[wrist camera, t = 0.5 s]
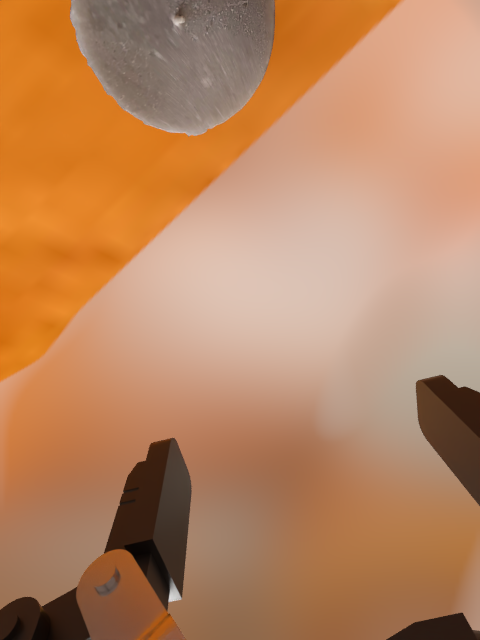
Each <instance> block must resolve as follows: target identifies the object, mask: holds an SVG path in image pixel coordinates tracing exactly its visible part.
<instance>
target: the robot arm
mask: <svg viewBox="0 0 480 640" xmlns="http://www.w3.org/2000/svg"><path fill="white" fill-rule="evenodd" d="M416 393H417V394H416V395H417V410H418V421H419V425H420V428H421V430H422V433H423V435H424V436H425V438H426V439H427V441H428V442H429V443H430V444H431V446H432V447H433V448H434V449H435V451H436V452H437V453H438V454H439V456H440V457H441V458H442V459H443V461H444V462H445V463H446V464H447V466H448V467H449V468H450V469H451V471H452V472H453V473H454V474H455V476H456V477H457V478H458V479H459V481H460V482H461V483H462V484H463V486H464V487H465V488H466V489H467V491H468V492H469V493H470V494H471V496H472V497H473V498H474V499H475V500H476V502H477V503H478V504H479V506H480V393H479V392H477V391H475V390H472V389H470V388H468V387H461V388H458V387H457V386H456V385H454V384H453V383H452V382H451V381H450V380H449V379H447V378H446V377H445V376H443V375H439V376H435V377H430V378H426V379H422V380H418V381H417V382H416ZM123 492H124V493H123V494H122V497H121V500H120V506H118V510H117V513H116V516H115V519H114V522H113V526H112V529H111V532H110V536H109V539H108V542H107V545H106V548H105V552H104V554H103V555H101V556H100V557H98V558H97V559H96V560H95V561H94V562H93V563H92V564H91V565H90V566H89V567H88V568H87V569H86V571H85V572H84V574H83V575H82V577H81V579H80V581H79V584H78V586H77V587H76V588H74V589H73V590H71V591H69V592H67V593H66V594H64V595H62V596H60V597H58V598H57V599H55V600H53V601H51V602H49V603H48V604H46V605H44V606H42V607H41V605H40V604H39V603H38V601H37V600H36V599H34V598H32V597H23V598H20V599H17V600H15V601H13V602H11V603H9V604H8V605H6V606H5V607H3V608H2V609H1V610H0V640H186V639H185V637H184V635H183V634H182V632H181V631H180V629H179V627H178V626H177V624H176V623H175V621H174V620H173V618H172V617H171V615H170V614H168V612H167V609H168V602H171V601H175V600H180V599H182V590H183V580H184V569H185V558H186V547H187V546H186V545H187V535H188V524H189V513H190V502H191V480H190V475H189V472H188V469H187V467H186V464H185V462H184V459H183V457H182V454H181V451H180V449H179V446H178V444H177V441H176V440H175V438H170V439H166V440H162V441H158V442H153V443H151V445H150V447H149V451H148V454H147V458H146V461H143V462H139V463H137V464H136V466H135V467H134V468H133V470H132V471H131V473H130V474H129V475H128V477H127V480H126V484H125V487H124V490H123ZM387 640H480V631H475V630H472V629H471V627H470V625H469V624H468V622H467V620H466V618H465V616H464V615H463V613H458V614H453V615H448V616H443V617H439V618H434V619H429V620H424V621H420V622H415V623H413V624H411V625H410V626H408V627H407V628H405V629H403V630H402V631H400V632H398V633H396V634H395V635H393V636H392V637H390V638H388V639H387Z"/></svg>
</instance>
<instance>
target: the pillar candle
mask: <svg viewBox="0 0 480 640" xmlns="http://www.w3.org/2000/svg"><path fill="white" fill-rule="evenodd" d="M70 19H71V22H72V25H73V26H74V27H75V29H76V38H77V40H76V41H77V42H78V45H79V48H80V51H81V52H82V54H83V55H84V56H85V57H86V58H87V63H88V66H90V67H91V68H92V69H93V72H94V73H95V75H96V76H97V78H98V79H99V81H100V83H101V84H102V85H103V88H104V90H105V91H106V93H107V95H111V96H113V97H114V99H115V100H116V101H117V103H118V105H119V106H120V107H121V108H122V109H123V110H125V111H127V112H129V113H130V114H132V115H133V116H135V117H136V118H138V119H140V120H141V121H143V122H144V124H146V125H150V126H153V127H155V128H158V129H162V130H165V131H167V132H173V133H186V134H187V135H188V136H189V135H194V136H196V135H199V134H203V133H205V132H206V131H207V129H209V128H210V129H211V128H213V127H215V126H216V125H218V124H221V123H224V122H225V121H226V120H228V119H229V118H230V117H232V116H233V115H234V114H236V113H237V112H238V111H240V110H241V109H242V108H243V107H244V106H245V105H246V103H247V102H248V101H249V99H250V98H251V97H252V96H253V94H254V92H255V91H256V89H257V88H258V86H259V84H260V82H261V81H262V79H263V77H264V75H265V72H266V69H267V66H268V63H269V59H270V56H271V51H272V46H273V40H274V28H275V2H274V0H71V11H70Z"/></svg>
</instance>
